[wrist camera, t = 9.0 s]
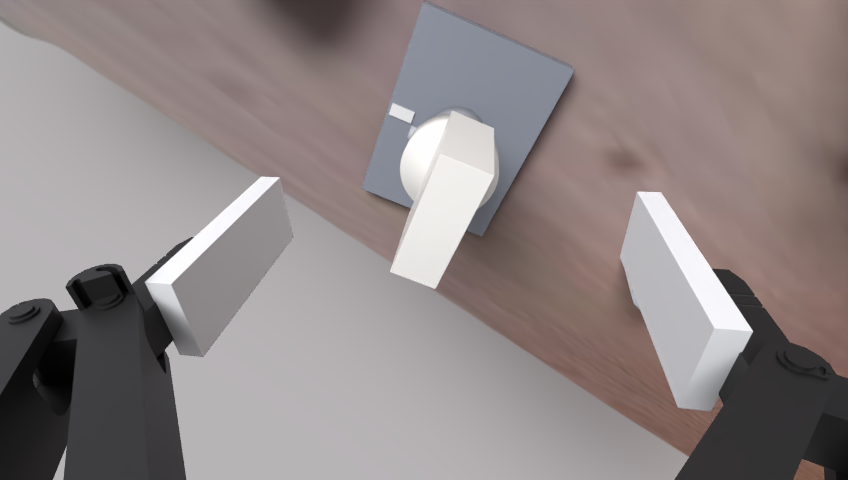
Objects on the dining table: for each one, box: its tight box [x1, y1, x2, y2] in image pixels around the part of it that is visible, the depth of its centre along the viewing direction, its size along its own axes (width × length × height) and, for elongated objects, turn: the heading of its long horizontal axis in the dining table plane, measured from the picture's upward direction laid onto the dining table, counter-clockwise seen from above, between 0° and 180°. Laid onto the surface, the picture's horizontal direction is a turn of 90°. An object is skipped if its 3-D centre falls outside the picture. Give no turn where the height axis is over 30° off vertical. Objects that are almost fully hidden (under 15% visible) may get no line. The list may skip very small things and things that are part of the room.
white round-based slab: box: [390, 111, 499, 289], centre depth 35 cm, size 12×8×12 cm
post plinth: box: [361, 1, 575, 237], centre depth 43 cm, size 15×20×8 cm
